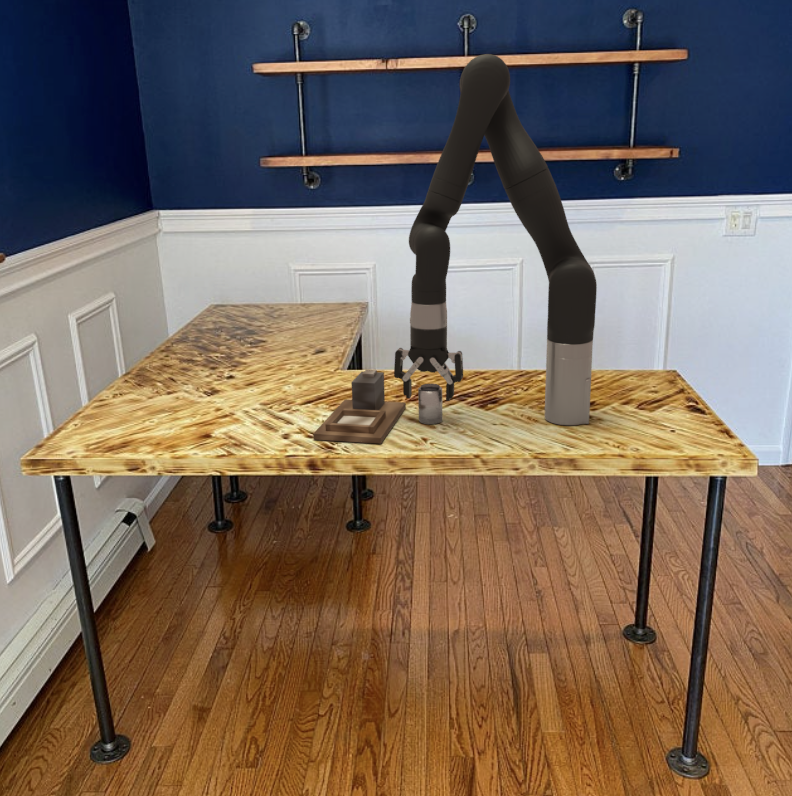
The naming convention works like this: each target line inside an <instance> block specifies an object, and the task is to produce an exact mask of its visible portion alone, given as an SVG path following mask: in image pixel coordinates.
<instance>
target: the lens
mask: <svg viewBox="0 0 792 796" xmlns="http://www.w3.org/2000/svg"><path fill="white" fill-rule="evenodd" d="M417 390H418V392H417V393H418V400H417V401H418V422H419V423H421V424H423V425H424V424H425V425H436V424H440V423H442V422H443V387H442V386H440V385H439V384H437V383H424V384H421V385H420V387H418V388H417Z"/></svg>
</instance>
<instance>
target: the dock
mask: <svg viewBox="0 0 792 796" xmlns="http://www.w3.org/2000/svg"><path fill="white" fill-rule="evenodd" d="M385 395H386V394H385V373H384V371H383V372H380V371H379V372H378V370H377V369H365V370H364V371H360V373H359V374H358V375H357V376H356V377H355V378H354V379H353V380H352V381H351V399H348V398H347V399H344V400H343V401H342V402H341V403H340V404H339V405H338V406H337V407H336V408H335V409H334V411H333V412H332V413H331V414H330V415H329V416H328V417H327V418H326V419H325V420H324V422H322V423H321V425H319V427H318V428H317V429H316V430H315V431H314V432H313V433H312V437H313V440H317V441H319V440H320V441H333V442H335V441H337V442H348V443H349V442H350V443H365V444H366V443H367V444H382V443H383V442H384V440H385V438H386V437H387V436H388V434H389V433H390V431H391V430H392V428H393V427H394V426H395V424H396V423H397V421H398V419H400V417H401V415H402V414H403V412H404V411H405V409H406V408H407V405H406V402H405V401H403V402H402V401H387V400H385V398H386V397H385Z"/></svg>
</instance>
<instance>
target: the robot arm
mask: <svg viewBox="0 0 792 796" xmlns="http://www.w3.org/2000/svg"><path fill="white" fill-rule="evenodd" d="M510 85H511V75H510V71H509V68H508V66H507V64H506V62H505V61H504V60H503V59H502V58H500V57H499V56H498V55H496V54H491V53H486V54H480V55H477V56H476V57H474V58H473V59H471V60H470V61H469V62H468V63H467V64H466V65H465V67H464V68H463V71H462V73H461V75H460V79H459V91H460V96H459V101H458V105H457V110H456V114H455V118H454V121H453V124H452V127H451V131H450V133H449V135H448V138H447V140H446V143H445V146H444V147H443V150H442V152H441V155H440V157H439V159H438V162H437V164H436V167H435V170H434V172H433V174H432V178H431V181H430V184H429V187H428V190H427V193H426V196H425V199H424V202H423V204H422V205H421V207H420V209H419V210H418V213H417V216H415V219H414V221H413V224H412V225H411V228H410V231H409V235H408V245H409V249H410V250H411V252H412V254H413V255H415V274H414V275H413V276H412V278H411V279H412V280H411V296H410V297H411V302H410V304H411V305H410V313H409V315H410V316H409V324H410V327H409V328H410V348H409V349H403V348H402V347H399V348H397V350H396V351H395V352H394V369H393V370H394V371H393V372H394V373H393V377H394V378H396V379H401V380H402V385H403V386H402V388H403V390H402V392H403V393H402V394H403V395H404V396H405V398H406V399H411V397H412V395H413V394H412V393H413V391H412V389H413V388H412V387H413V386H412V385H413V384H412V383H413V381H412V379H411V377H412V376H413V374H414V373H415V371H417V370H418V371H419V372H421V373H425V372H429V373H433V374H434V373H438V374H439V375H440V376H441V377H442V378H443V379H444V381H446V384H445V401H446V402H450V401H451V400H452V399H453V398H454V395H455V384H456V383H460V382H461V381H462V380H463V378H464V364H463V363H464V362H463V359H464V358H463V352H462V351H461V350H458V351H456V352H449V350H448V309H447V275H448V271H449V266H450V258H451V240H450V237H449V235H448V233H447V232H446V231H447V230H448V225H449V224H450V221H451V219H452V217H454V216H455V215H457V214H458V213H459V211H460V208H461V205H462V202H463V200H464V197H465V194H466V192H467V188H468V185H469V183H470V179H471V176H472V174H473V171H474V170H473V169H474V168H475V164H476V161H477V158H478V153H479V151H480V148H481V144H482V142H483V140H484V138H485V140H486V142H487V145H488V147H489V151H490V154H491V157H492V159H493V163H494V166H495V168H496V170H497V173H498V176H499V178H500V181H501V184H502V187H503V189H504V191H505V194H506V195H507V197H508V201H509V202H510V204H511V207H512V208H513V211H514V212H515V214H516V216H517V217H518V219H519V221H520V222H521V224H522V226H523V227H524V228H525V231H527V233H528V234H529V236H530V237H531V239H532V241H533V242H534V244H535V246H536V247H537V250H538V253H539V255H540V258H541V261H542V263H543V266H544V269H545V272H546V275H547V279H548V280H547V281H548V292H547V293H548V296H547V297H548V298H547V320H546V321H547V324H546V325H547V327H546V330H547V331H546V355H545V356H546V363H545V388H544V389H545V396H544V419H545V420H546V421H547V422H549V423H552V424H555V425H561V426H578V425H584V424H585V425H589V424H590V409H591V391H592V390H591V389H592V387H591V386H592V370H593V369H592V365H593V349H594V348H593V346H594V343H593V342H594V331H595V324H596V323H595V322H596V308H597V307H596V306H597V292H598V291H597V288H598V287H597V279H596V275H595V272H594V270H593V267H591V265H590V263H589V262H588V260H587V259H586V257H585V256H584V254H583V252H582V250H581V249H580V247H579V245H578V243H577V241H576V239H575V238H574V235H573V233H572V231H571V229H570V226H569V222H568V219H567V215H566V213H565V209H564V206H563V203H562V199H561V196H560V193H559V191H558V188H557V185H556V182H555V180H554V178H553V176H552V173H551V171H550V169H549V167H548V164H547V163H546V161H545V158H544V157H543V155H542V153H541V152H540V150H539V149H538V147H537V145H536V144H535V143H534V141H533V140H532V138H531V136H530V135H529V134H528V132H527V131H526V129H525V128H524V126H523V125H522V123H521V122H522V121H520V119H519V116H518V114H517V111H516V108H515V106H514V103H513V99H512V97H511V94H510V90H509V89H510ZM407 357H408V358H409V360H410V362H412V365H411V367H410V368H409V369H407V371H403V367H404V361H405V359H406V358H407ZM448 359H449V360H450V361H451V363H453V364H454V373H455V374H454V375H453V373H452V372H451V370H450V368H449V366H448V365H447V364H446V362H447V361H448Z"/></svg>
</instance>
